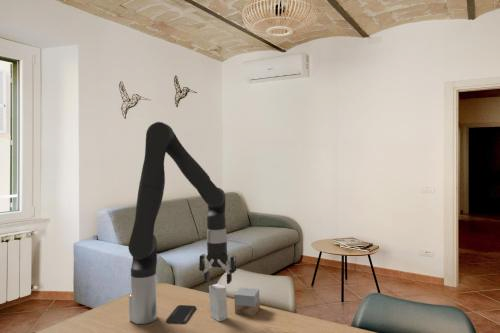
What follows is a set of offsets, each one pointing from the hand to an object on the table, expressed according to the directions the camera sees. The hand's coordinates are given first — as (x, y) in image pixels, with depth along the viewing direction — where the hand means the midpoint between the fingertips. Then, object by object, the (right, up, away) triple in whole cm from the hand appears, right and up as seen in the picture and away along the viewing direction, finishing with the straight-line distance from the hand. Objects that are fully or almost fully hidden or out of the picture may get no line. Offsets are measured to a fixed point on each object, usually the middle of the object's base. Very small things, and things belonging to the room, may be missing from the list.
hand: (218, 282), depth 139 cm
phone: (-15, -14, +3) cm, 21 cm away
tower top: (+11, -10, +6) cm, 16 cm away
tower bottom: (+11, -14, +6) cm, 19 cm away
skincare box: (0, -14, 0) cm, 14 cm away
